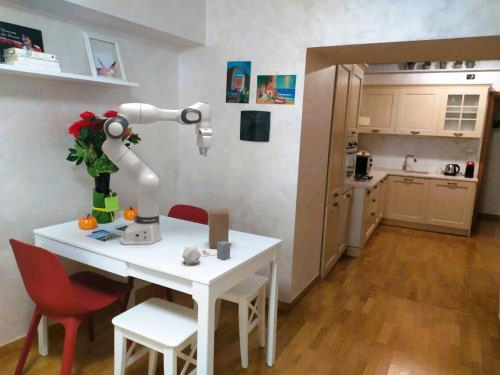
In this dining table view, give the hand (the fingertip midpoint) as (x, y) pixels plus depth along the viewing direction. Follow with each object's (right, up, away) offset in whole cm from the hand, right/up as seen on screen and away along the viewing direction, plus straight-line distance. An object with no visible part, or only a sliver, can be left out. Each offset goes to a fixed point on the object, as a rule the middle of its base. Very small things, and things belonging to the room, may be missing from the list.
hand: (202, 155), depth 212 cm
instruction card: (+4, -53, -22) cm, 57 cm away
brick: (+14, -54, -28) cm, 62 cm away
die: (-1, -55, -36) cm, 66 cm away
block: (+10, -51, -10) cm, 53 cm away
